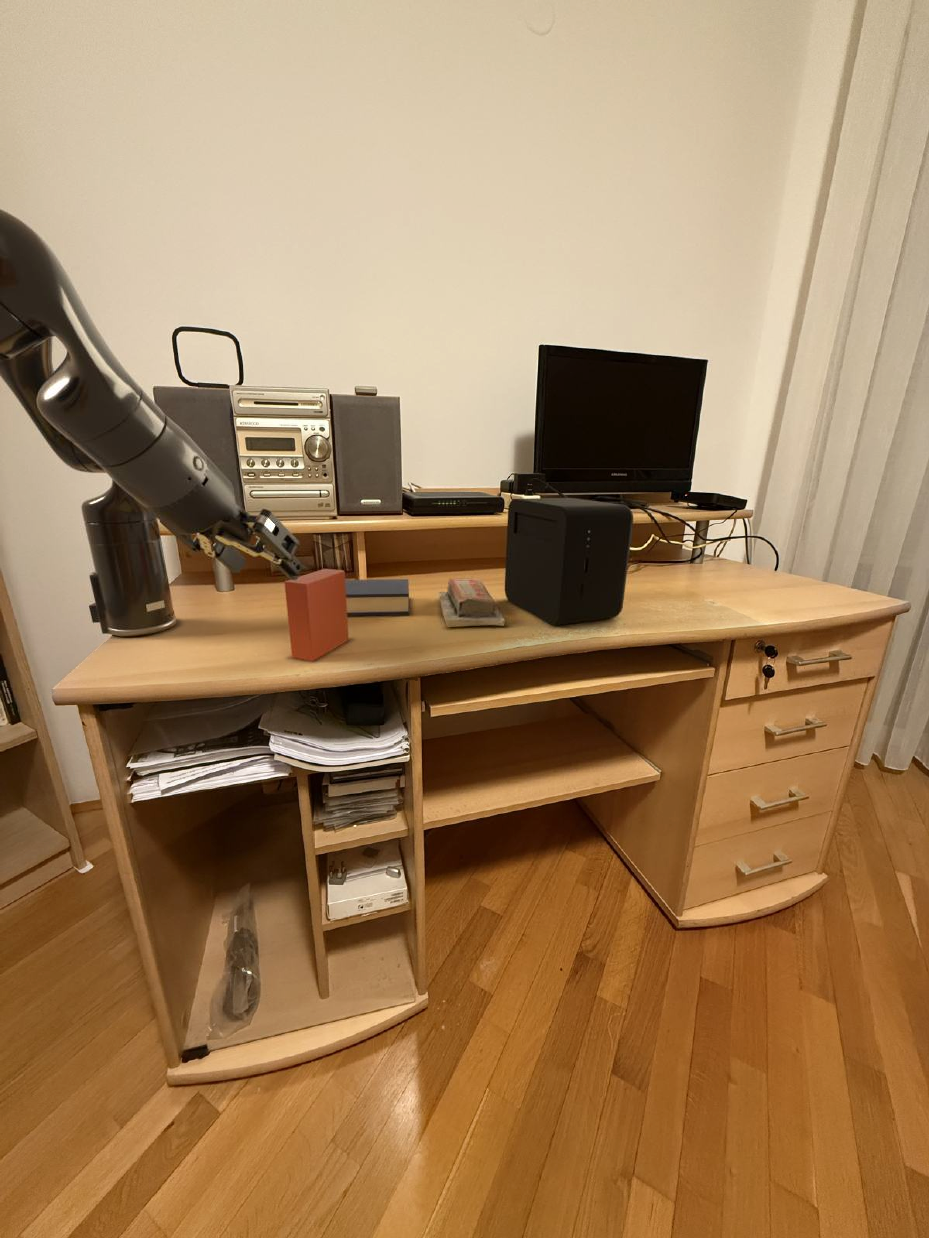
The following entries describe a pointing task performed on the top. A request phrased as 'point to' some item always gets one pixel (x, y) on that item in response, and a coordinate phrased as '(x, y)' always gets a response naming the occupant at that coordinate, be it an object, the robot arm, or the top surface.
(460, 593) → the packaged product
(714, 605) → the top surface
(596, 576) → the black nas enclosure
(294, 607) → the red rectangular block
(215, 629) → the top surface
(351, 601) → the big book
